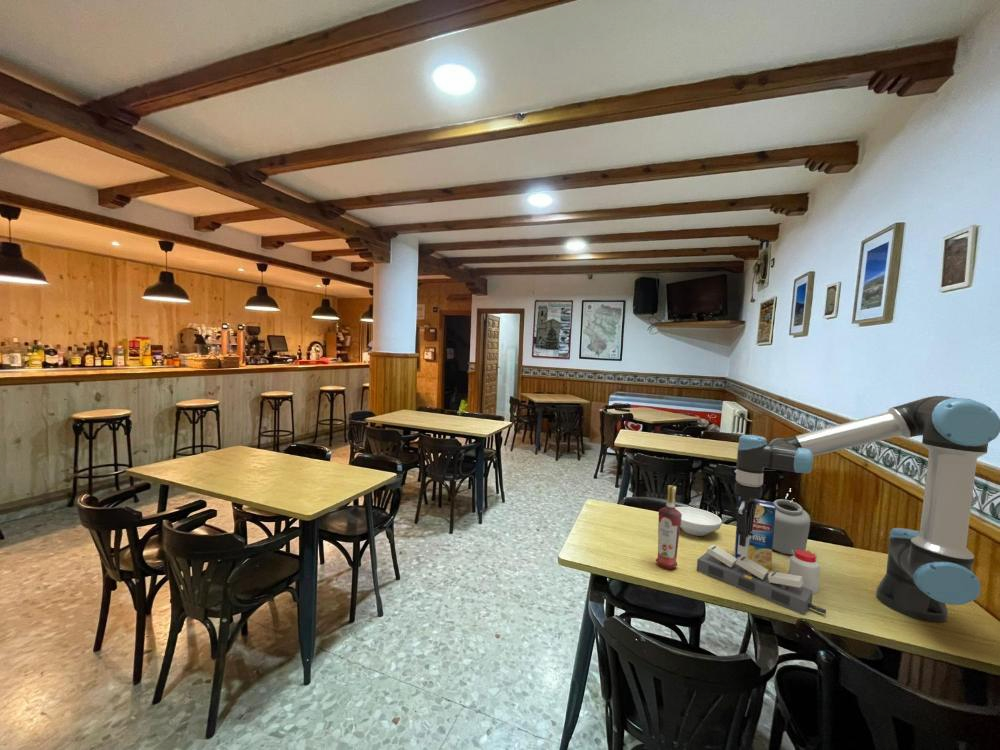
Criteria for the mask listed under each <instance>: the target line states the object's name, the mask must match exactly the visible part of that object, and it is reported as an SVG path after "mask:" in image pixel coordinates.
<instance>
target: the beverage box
mask: <svg viewBox="0 0 1000 750" xmlns="http://www.w3.org/2000/svg"><path fill="white" fill-rule="evenodd" d="M740 498H741V497H740V496H739V495H738V499H737V500H738V501H737V502H739V500H740ZM755 502H757V505H756V510H755V516H754V523H753V530H752V532H751V533H753V536H751V535H748V536H750V539H749V551H748V556H747V558H749V559H750V560H752V561H754V562H755V563H757V564H759V565H761V566H762V567H764V568H766V569H767V570H769V571H771V569H772V560H773V559H772V558H773V556H772V555H773V549H772V547H773V535H774V523H775V511H776V507H775V505H774V503H773V502H774V501H773V502H772V501H767V500H761V499H755ZM737 507H739V505H738V504H737ZM735 527H736V528H735V529H736V530H735V540H734V541H735V543H734V551H733V552H734V555H733V557H735V558H737V559H738V558H739V557H740V556H741V555H740V554H737V552H738V540H739V535H738V534H736V532H737V525H736V526H735Z"/></svg>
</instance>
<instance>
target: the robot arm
mask: <svg viewBox="0 0 1000 750" xmlns="http://www.w3.org/2000/svg"><path fill="white" fill-rule="evenodd" d="M999 434H1000V417H999V415H998V414H997V412H996V411H995V410H994V409H992V408H991V407H990V406H988V405H986V404H985V403H983V402H980V401H976V400H973V399H971V398H965V397H954V396H953V397H951V396H946V395H945V396H944V395H932V396H928V397H924V398H920V399H917V400H914V401H909V402H907V403H903V404H900V405H897V406H893V407H890V408H889V409H888V410H887V412H883V413H880V414H875V415H872V416H868V417H864V418H859V419H856V420H853V421H849V422H848V421H847V422H844V423H841V424H837V425H834V426H833V425H832V426H829V427H826V428H822V429H816V430H814V431H809V432H806V433H802V434H798V435H794V436H790V437H789V436H788V437H786V438H783V437H782V438H781V437H780V438H779V437H778V438H774V439H772V440H771V441H770V442H769V443H768V442H767V438H766V437H764V436H759V435H755V434H742V435H740V437H739V438H738V446H737V455H736V469H735V470H734V473H735V482H734V493H735V494H736V495H738V497H739V496H740V497H741V498H740V500H739V502H738V501H737V502H738V503H737V506H736V508H735V512H736V513H735V514H736V526H737V532H736V531H735V535H736V534H738V535H739V540H738V552H737V554H740V555H743V556H745V557H747V556H748V551H749V539H750V536H748V535H751V536H753V533H751V532H752V530H753V523H754V516H755V510H756V505H757V502H755V499H757V500H760V499H761V498H762V496H763V485H764V476H765V475H764V470H765V468H767V469H773V470H779V471H780V470H781V471H785V472H792V473H795V474H810V473H811V472H812V470H813V466H814V457H815V456H819V455H824V454H829V453H833V452H836V451H837V452H838V451H842V450H846V449H849V448H854V447H859V446H863V445H867V444H872V443H875V442H880V441H884V440H888V439H889V440H890V439H893V438H898V437H903V438H906V439H908V438H914V437H920V436H921V437H922V441H921V445H923V447H925V448H926V449H927V450H928V458H927V468H926V476H925V477H926V478H925V483H924V484H925V485H924V494H923V502H922V503H923V504H922V511H921V520H920V528H919V529H920V530H915V529H909V528H903V527H893V528H892V529H891V530H890V532H889V536H888V539H889V540H888V550H887V551H888V552H887V553H888V554H887V559H886V560H887V562H886V573H885V574H884V576H883V578H882V579H881V581H880V583H879V584H878V586H877V588H876V593H875V594H876V598H877V599H878V600H879V601H880V602H881V603H882V604H884V605H885V606H886V607H888V608H891V610H892V609H893V610H894V611H897V612H899V613H901V614H903V615H906V616H909V617H912V618H915V619H918V620H923V621H926V622H932V623H945V622H947V621H948V615H949V614H948V613H949V612H948V607H947V605H953V606H960V605H965V604H968V603H971V602H973V601H975V600H976V599H978V597H979V596H980V594H981V590H982V588H981V587H982V586H981V582H980V580H979V578H978V577H977V575H976V574H975V573H974V563H975V554H974V553H973V552H971V551H970V549H968V548H967V543H968V536H969V535H968V534H969V527H970V518H971V509H972V503H973V494H974V487H975V486H974V485H975V477H976V469H977V462H978V461H977V460H978V458H979V457H982V456H984V455H986V454H988V448H989V443H990V442H992V441H993V440H995V439H997V437H998V436H999ZM738 505H739V507H738ZM946 604H947V605H946Z"/></svg>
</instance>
